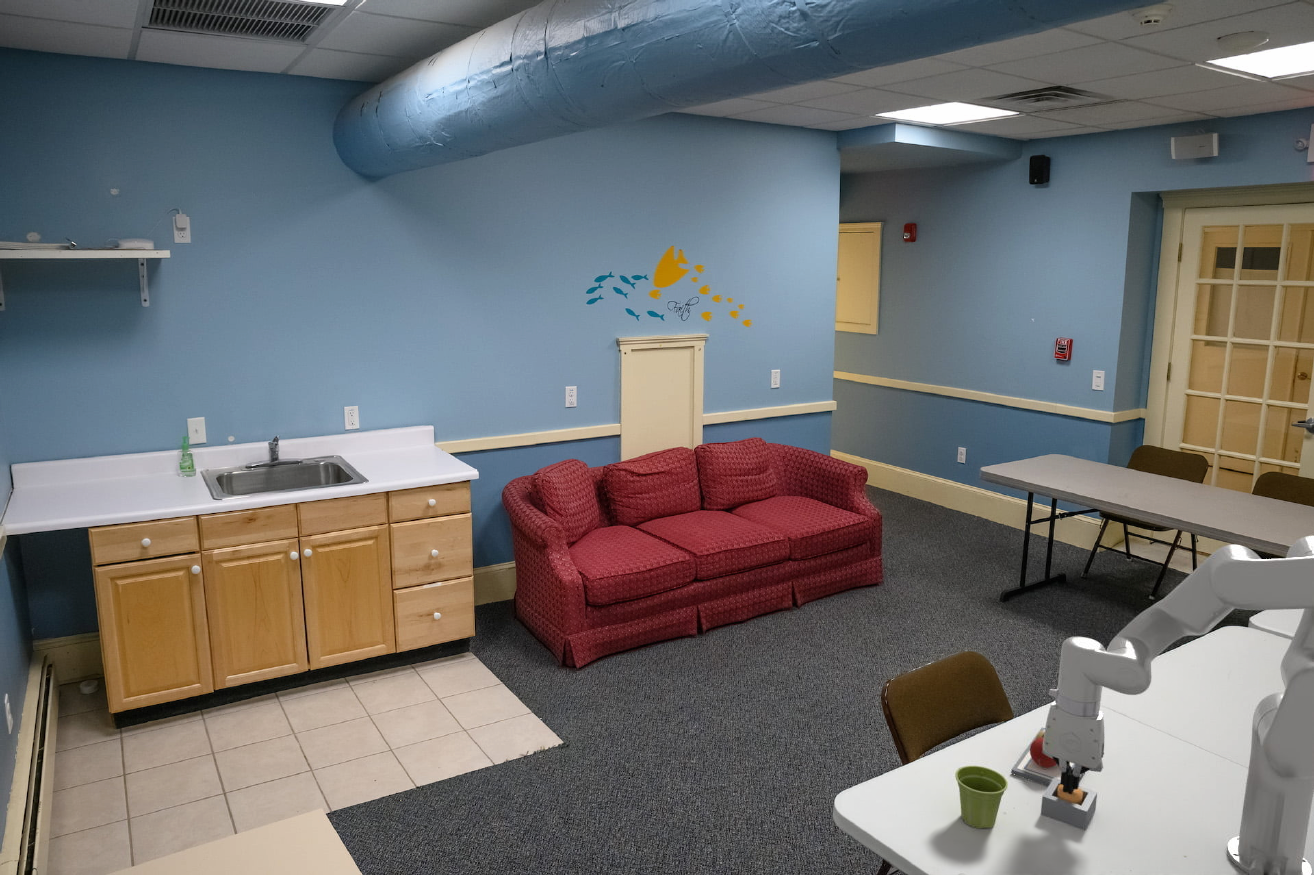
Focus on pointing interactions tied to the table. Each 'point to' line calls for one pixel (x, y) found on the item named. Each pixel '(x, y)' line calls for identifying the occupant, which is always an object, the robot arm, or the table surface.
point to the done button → (1070, 795)
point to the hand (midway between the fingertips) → (1069, 789)
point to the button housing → (1068, 806)
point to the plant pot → (980, 794)
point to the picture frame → (1037, 768)
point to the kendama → (1040, 752)
